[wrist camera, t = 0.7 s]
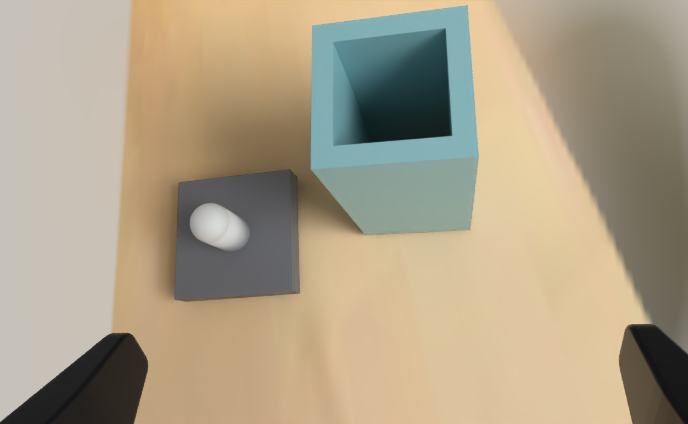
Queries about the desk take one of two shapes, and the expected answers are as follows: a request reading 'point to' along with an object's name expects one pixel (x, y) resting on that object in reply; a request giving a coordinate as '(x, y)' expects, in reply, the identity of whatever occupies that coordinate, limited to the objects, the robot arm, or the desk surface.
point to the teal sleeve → (396, 120)
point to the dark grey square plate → (237, 237)
